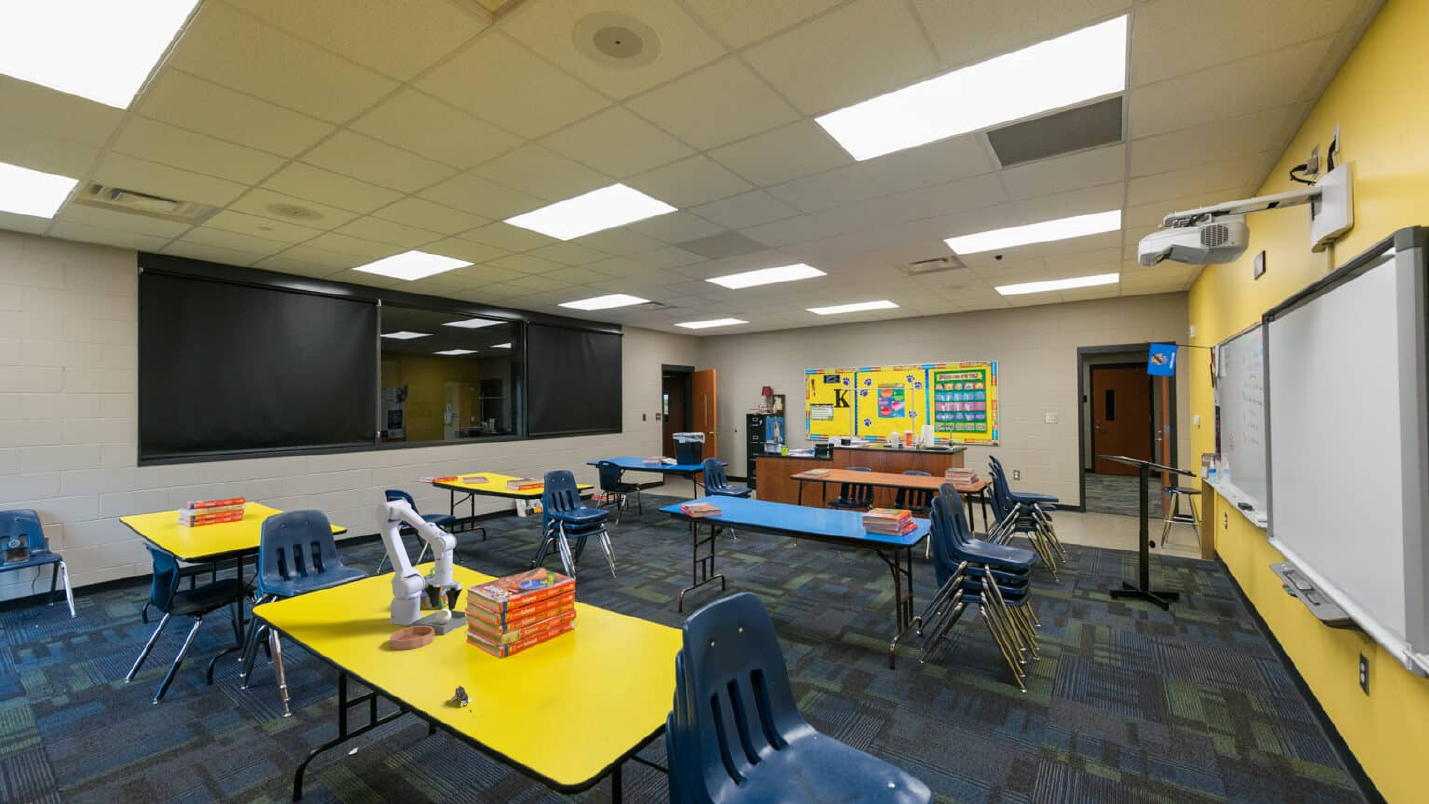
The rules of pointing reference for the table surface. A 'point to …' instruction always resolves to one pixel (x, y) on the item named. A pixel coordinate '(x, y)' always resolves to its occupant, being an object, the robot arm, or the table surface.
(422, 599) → the chalk box
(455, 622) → the tray
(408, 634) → the bowl
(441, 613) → the ball
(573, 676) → the table surface
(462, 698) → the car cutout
